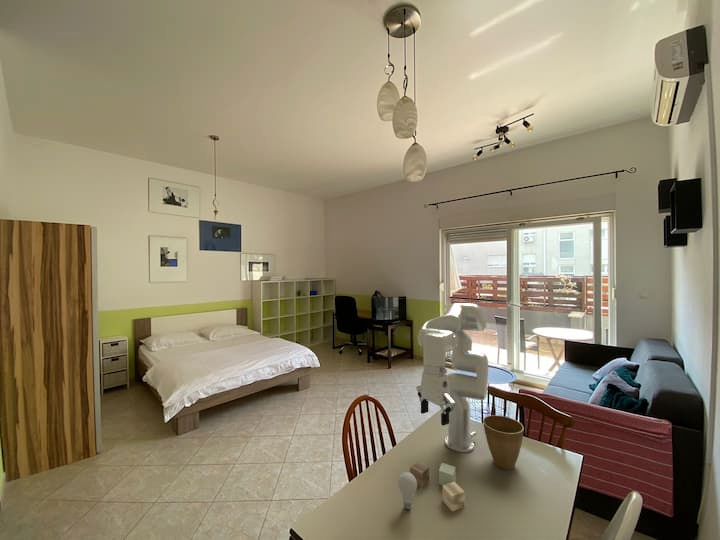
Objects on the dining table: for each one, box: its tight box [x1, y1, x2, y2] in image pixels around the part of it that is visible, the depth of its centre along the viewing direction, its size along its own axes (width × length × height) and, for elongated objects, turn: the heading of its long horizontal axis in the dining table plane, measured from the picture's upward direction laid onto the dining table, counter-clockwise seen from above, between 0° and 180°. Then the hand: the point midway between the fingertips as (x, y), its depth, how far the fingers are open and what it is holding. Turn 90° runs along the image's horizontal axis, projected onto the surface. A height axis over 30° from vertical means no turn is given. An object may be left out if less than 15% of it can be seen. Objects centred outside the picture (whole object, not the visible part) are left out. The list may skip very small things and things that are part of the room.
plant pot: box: [482, 414, 525, 470], centre depth 117 cm, size 15×15×16 cm
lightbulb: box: [397, 471, 418, 510], centre depth 94 cm, size 6×6×11 cm
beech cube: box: [441, 481, 466, 512], centre depth 96 cm, size 5×5×5 cm
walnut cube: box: [409, 460, 430, 488], centre depth 107 cm, size 5×5×5 cm
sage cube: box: [438, 462, 457, 486], centre depth 106 cm, size 5×5×5 cm
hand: (434, 418), depth 101 cm, fingers open, 9 cm apart
